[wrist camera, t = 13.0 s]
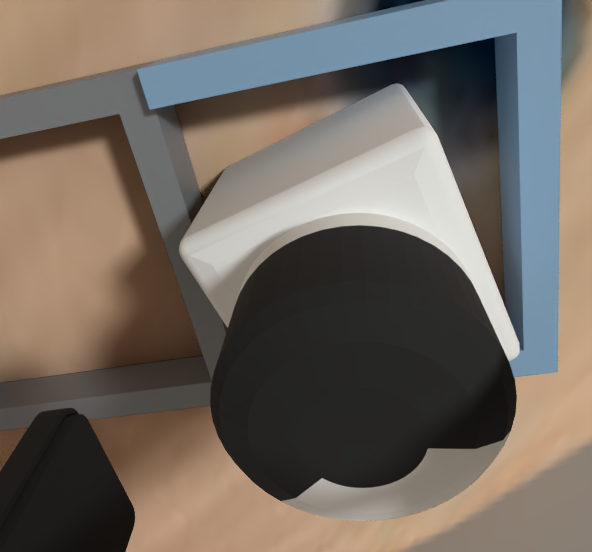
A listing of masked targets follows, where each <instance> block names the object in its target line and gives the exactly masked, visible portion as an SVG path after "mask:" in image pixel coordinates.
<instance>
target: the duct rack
mask: <svg viewBox="0 0 592 552" xmlns="http://www.w3.org/2000/svg"><path fill="white" fill-rule="evenodd" d="M561 32H562V0H425V1H420V2H416V3H411V4H407V5H402V6H398V7H393V8H389V9H384V10H380V11H376V12H371V13H367V14H362V15H358V16H353V17H349V18H344V19H340V20H335V21H331V22H326V23H322V24H318V25H313V26H309V27H304V28H300V29H295V30H291V31H286V32H282V33H277V34H273V35H268V36H264V37H260V38H255V39H251V40H246V41H242V42H237V43H233V44H228V45H224V46H219V47H215V48H210V49H206V50H202V51H197V52H193V53H188V54H184V55H179V56H175V57H170V58H166V59H161V60H157V61H152V62H148V63H144V64H139V65H135V66H130V67H126V68H121V69H117V70H112V71H108V72H103V73H99V74H94V75H90V76H86V77H81V78H77V79H72V80H68V81H63V82H59V83H54V84H50V85H45V86H41V87H36V88H32V89H28V90H23V91H19V92H14V93H10V94H5V95H1V96H0V139H3V138H8V137H12V136H17V135H22V134H27V133H31V132H36V131H41V130H46V129H50V128H55V127H60V126H65V125H69V124H74V123H79V122H84V121H88V120H93V119H98V118H103V117H107V116H112V115H117V114H120V117H121V120H122V123H123V126H124V129H125V132H126V135H127V137H128V140H129V143H130V146H131V149H132V152H133V155H134V158H135V161H136V163H137V166H138V169H139V172H140V175H141V178H142V181H143V184H144V187H145V189H146V192H147V195H148V198H149V201H150V204H151V207H152V210H153V213H154V215H155V218H156V221H157V224H158V227H159V230H160V233H161V236H162V239H163V241H164V244H165V247H166V250H167V253H168V256H169V259H170V262H171V265H172V267H173V270H174V273H175V276H176V279H177V282H178V285H179V288H180V291H181V293H182V296H183V299H184V302H185V305H186V308H187V311H188V314H189V316H190V319H191V322H192V325H193V328H194V331H195V334H196V337H197V340H198V342H199V345H200V348H201V351H202V354H203V356H197V357H190V358H182V359H175V360H168V361H160V362H153V363H145V364H138V365H131V366H123V367H116V368H108V369H101V370H94V371H86V372H79V373H72V374H64V375H57V376H49V377H42V378H35V379H27V380H20V381H12V382H5V383H0V431H3V430H11V429H19V428H28V427H29V426H30V425H31V423H32V422H33V420H34V418H35V417H36V416H37V415H38V414H39V413H40V412H43V411H49V410H56V409H63V408H73V409H75V410H76V411H77V412H78V413H79V414H83V415H84V416H86V418H87V419H88V420H94V419H102V418H110V417H119V416H127V415H135V414H144V413H152V412H160V411H168V410H177V409H185V408H193V407H202V406H210V389H211V384H212V379H213V373H214V370H215V367H216V364H217V360H218V357H219V354H220V351H221V348H222V345H223V342H224V338H225V335H226V332H227V329H228V328H227V326H226V325H225V323H224V322H223V320H222V319H221V317H220V316H219V314H218V313H217V311H216V310H215V308H214V307H213V305H212V303H211V302H210V300H209V299H208V297H207V296H206V294H205V293H204V291H203V290H202V288H201V287H200V285H199V284H198V282H197V281H196V279H195V278H194V276H193V275H192V273H191V272H190V270H189V269H188V267H187V266H186V264H185V263H184V261H183V260H182V258H181V256H180V253H179V246H180V242H181V240H182V239H183V237H184V235H185V234H186V232H187V230H188V229H189V227H190V225H191V224H192V222H193V220H194V219H195V217H196V216H197V214H198V212H199V211H200V209H201V207H202V206H203V201H202V197H201V194H200V191H199V187H198V184H197V181H196V177H195V174H194V171H193V167H192V164H191V161H190V157H189V154H188V151H187V147H186V144H185V141H184V137H183V134H182V131H181V127H180V124H179V121H178V117H177V114H176V111H175V107H174V104H179V103H184V102H189V101H193V100H198V99H203V98H208V97H212V96H217V95H222V94H227V93H231V92H236V91H241V90H246V89H251V88H255V87H260V86H265V85H270V84H274V83H279V82H284V81H289V80H293V79H298V78H303V77H308V76H312V75H317V74H322V73H327V72H331V71H336V70H341V69H346V68H350V67H355V66H360V65H365V64H370V63H374V62H379V61H384V60H389V59H393V58H398V57H403V56H408V55H412V54H417V53H422V52H427V51H431V50H436V49H441V48H446V47H450V46H455V45H460V44H465V43H469V42H474V41H479V40H484V39H489V38H493V37H494V38H495V64H496V89H497V114H498V140H499V165H500V190H501V216H502V241H503V266H504V292H505V308H506V311H507V313H508V316H509V318H510V321H511V323H512V326H513V328H514V331H515V333H516V336H517V339H518V341H519V347H520V353H519V355H518V356H517V357H516V358H515V359H513V360H511V361H509V363H510V366H511V369H512V372H513V376H514V377H521V376H529V375H538V374H546V373H555V372H558V289H559V203H560V118H561Z"/></svg>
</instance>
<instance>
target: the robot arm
mask: <svg viewBox="0 0 592 552" xmlns="http://www.w3.org/2000/svg"><path fill="white" fill-rule="evenodd" d="M134 522H135V512H134V508H133V505H132V503H131V501H130V500H129V498H128V496H127V494H126V492H125V490H124V488H123V486H122V484H121V482H120V480H119V479H118V477H117V475H116V473H115V471H114V469H113V467H112V465H111V463H110V461H109V459H108V457H107V456H106V454H105V452H104V450H103V448H102V446H101V444H100V442H99V440H98V438H97V436H96V434H95V433H94V431H93V429H92V427H91V425H90V423H89V421H88V419H87V418H86V416H84V415H83V414H79V413H78V412H77V411H76V410H75V409H73V408H63V409H56V410H49V411H43V412H40V413H39V414H38V415H37V416H36V417H35V418H34V420H33V422H32V423H31V425H30V426H29V428H28V429H27V431H26V432H25V434H24V436H23V437H22V439H21V440H20V442H19V443H18V445H17V446H16V448H15V450H14V451H13V453H12V454H11V456H10V457H9V459H8V460H7V462H6V464H5V465H4V467H3V468H2V470H1V471H0V552H125V551H126V548H127V545H128V542H129V539H130V536H131V533H132V530H133V527H134Z"/></svg>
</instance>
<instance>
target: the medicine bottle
mask: <svg viewBox="0 0 592 552" xmlns="http://www.w3.org/2000/svg"><path fill="white" fill-rule="evenodd" d="M179 253H180V256H181V258H182V260H183V261H184V263H185V264H186V266H187V267H188V269H189V270H190V272H191V273H192V275H193V276H194V278H195V279H196V281H197V282H198V284H199V285H200V287H201V288H202V290H203V291H204V293H205V294H206V296H207V297H208V299H209V300H210V302H211V303H212V305H213V307H214V308H215V310H216V311H217V313H218V314H219V316H220V317H221V319H222V320H223V322H224V323H225V325H226V326H227V328H228V329H227V332H226V335H225V338H224V342H223V345H222V348H221V351H220V354H219V357H218V360H217V364H216V367H215V370H214V373H213V379H212V384H211V389H210V406H211V413H212V419H213V423H214V426H215V428H216V431H217V434H218V437H219V439H220V440H221V442H222V444H223V446H224V448H225V450H226V451H227V453H228V454H229V455H230V457H231V458H232V459H233V461H234V462H235V463H236V464H237V466H238V467H239V468H240V469H241V470H242V471H243V472H244V473H245V474H246V475H247V476H248V477H249V478H250V479H251V480H252V481H253V482H254V483H255V484H256V485H258V486H259V487H260V488H262V489H263V490H264V491H265V492H267V493H268V494H270V495H272V496H273V497H275V498H277V499H278V500H280V501H282V502H284V503H286V504H288V505H290V506H292V507H295V508H297V509H300V510H303V511H306V512H309V513H311V514H315V515H319V516H324V517H328V518H334V519H341V520H352V521H375V520H387V519H394V518H400V517H404V516H408V515H412V514H416V513H420V512H422V511H425V510H428V509H431V508H433V507H436V506H438V505H440V504H442V503H444V502H446V501H448V500H450V499H451V498H453V497H455V496H456V495H458V494H459V493H461V492H462V491H464V490H465V489H466V488H468V487H469V486H470V485H471V484H472V483H474V482H475V481H476V480H477V479H478V478H479V477H480V476H481V475H482V474H483V472H484V471H485V470H486V469H487V468H488V467H489V466H490V464H491V463H492V462H493V461H494V459H495V458H496V456H497V455H498V454H499V452H500V451H501V449H502V448H503V446H504V444H505V442H506V440H507V438H508V436H509V433H510V431H511V428H512V425H513V421H514V417H515V412H516V399H517V395H516V386H515V379H514V376H513V372H512V369H511V366H510V363H509V361H511V360H513V359H515V358H516V357H517V356H518V355H519V353H520V347H519V341H518V339H517V336H516V333H515V331H514V328H513V326H512V323H511V321H510V318H509V316H508V313H507V311H506V308H505V306H504V303H503V300H502V298H501V295H500V293H499V290H498V288H497V285H496V283H495V280H494V278H493V275H492V273H491V270H490V267H489V265H488V262H487V260H486V257H485V255H484V252H483V250H482V247H481V245H480V242H479V240H478V237H477V234H476V232H475V229H474V227H473V224H472V222H471V219H470V217H469V214H468V212H467V209H466V207H465V204H464V201H463V199H462V196H461V194H460V191H459V189H458V186H457V184H456V181H455V179H454V176H453V174H452V171H451V168H450V166H449V163H448V161H447V158H446V156H445V153H444V151H443V148H442V146H441V143H440V141H439V138H438V136H437V134H436V133H435V131H434V130H433V128H432V127H431V125H430V124H429V122H428V121H427V119H426V118H425V116H424V115H423V113H422V112H421V110H420V109H419V108H418V106H417V105H416V103H415V102H414V100H413V99H412V97H411V96H410V94H409V93H408V91H407V90H406V89H405V87H404V86H403V85H401V84H398V83H396V84H392V85H390V86H388V87H386V88H384V89H382V90H380V91H378V92H376V93H374V94H372V95H370V96H368V97H366V98H364V99H362V100H360V101H358V102H356V103H354V104H352V105H350V106H348V107H346V108H344V109H342V110H340V111H338V112H336V113H334V114H332V115H330V116H328V117H326V118H324V119H322V120H320V121H318V122H316V123H314V124H312V125H310V126H308V127H306V128H304V129H302V130H300V131H298V132H296V133H294V134H292V135H290V136H288V137H286V138H284V139H282V140H280V141H278V142H276V143H274V144H272V145H270V146H268V147H266V148H264V149H262V150H260V151H258V152H256V153H254V154H252V155H250V156H248V157H246V158H244V159H242V160H240V161H238V162H236V163H234V164H232V165H230V166H228V167H227V168H226V169H225V170H224V171H223V173H222V174H221V176H220V178H219V179H218V181H217V183H216V184H215V186H214V188H213V189H212V191H211V192H210V194H209V196H208V197H207V199H206V201H205V202H204V204H203V206H202V207H201V209H200V211H199V212H198V214H197V216H196V217H195V219H194V220H193V222H192V224H191V225H190V227H189V229H188V230H187V232H186V234H185V235H184V237H183V239H182V240H181V242H180V246H179Z"/></svg>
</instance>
